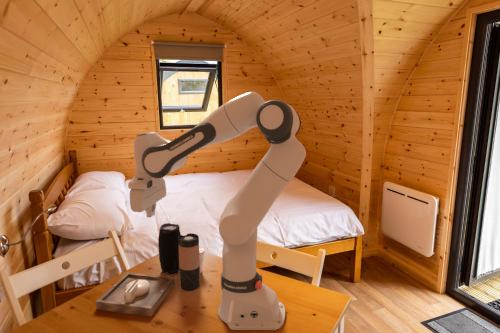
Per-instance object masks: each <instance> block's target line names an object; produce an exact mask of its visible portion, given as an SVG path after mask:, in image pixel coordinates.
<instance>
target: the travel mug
mask: <svg viewBox="0 0 500 333" xmlns="http://www.w3.org/2000/svg"><path fill="white" fill-rule="evenodd" d="M178 243H179V282H180V284H179V285H180V289H181V290H182V291H184V292H193V291H197V290H198V289H199V288H200V283H201V282H200V281H201V280H200V279H201V278H200V277H201V273H200V259H199V247H200V237H199V235H198V234H197V233H191V232H190V233H187V234H185V235H182V234H181V236H179V238H178Z"/></svg>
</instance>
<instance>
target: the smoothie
mask: <svg viewBox="0 0 500 333" xmlns="http://www.w3.org/2000/svg"><path fill="white" fill-rule="evenodd" d="M205 251H206V250H205V248H203V247H201V246H199V259H200V274H201V273H202V272H203V262H204V255H205Z"/></svg>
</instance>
